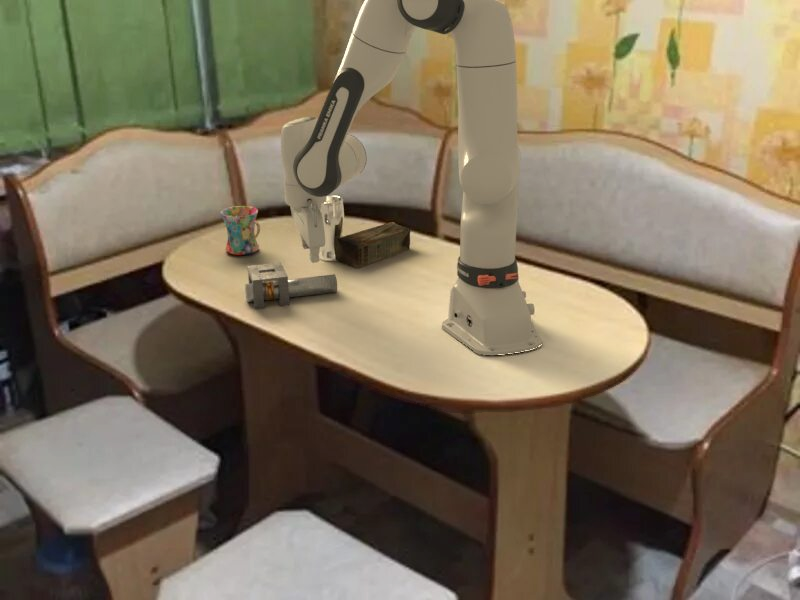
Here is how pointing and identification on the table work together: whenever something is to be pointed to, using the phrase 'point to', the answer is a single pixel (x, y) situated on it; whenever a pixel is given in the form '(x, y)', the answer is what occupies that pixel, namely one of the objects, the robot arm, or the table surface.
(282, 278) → the gray four-legged stand
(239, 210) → the mug
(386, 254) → the dark wooden box
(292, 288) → the tube
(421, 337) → the table surface
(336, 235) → the beer glass
